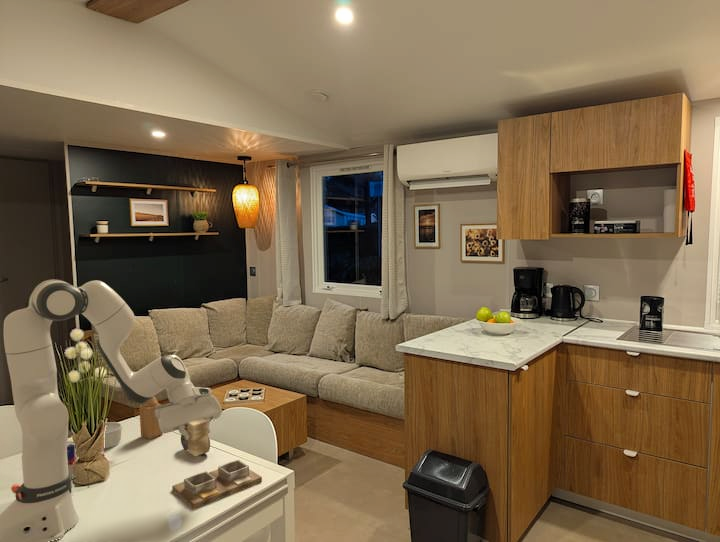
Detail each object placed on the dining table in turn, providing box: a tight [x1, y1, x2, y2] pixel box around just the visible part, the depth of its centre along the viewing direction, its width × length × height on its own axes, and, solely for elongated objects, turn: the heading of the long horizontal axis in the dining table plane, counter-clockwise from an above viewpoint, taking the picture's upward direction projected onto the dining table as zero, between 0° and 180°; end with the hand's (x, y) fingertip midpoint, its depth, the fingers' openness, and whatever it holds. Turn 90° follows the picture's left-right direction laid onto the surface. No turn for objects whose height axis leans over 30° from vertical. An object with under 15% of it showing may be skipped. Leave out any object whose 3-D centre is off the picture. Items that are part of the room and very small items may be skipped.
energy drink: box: [67, 440, 78, 481], centre depth 176 cm, size 5×5×12 cm
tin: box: [180, 429, 211, 456], centre depth 195 cm, size 15×3×8 cm, turn 55°
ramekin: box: [104, 421, 123, 450], centre depth 205 cm, size 13×13×7 cm
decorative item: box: [138, 395, 164, 440], centre depth 212 cm, size 7×7×20 cm
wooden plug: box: [186, 418, 210, 457], centre depth 163 cm, size 5×5×10 cm
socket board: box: [171, 459, 263, 509], centre depth 168 cm, size 24×16×4 cm, turn 133°
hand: (198, 435), depth 162 cm, fingers closed on wooden plug, 5 cm apart
